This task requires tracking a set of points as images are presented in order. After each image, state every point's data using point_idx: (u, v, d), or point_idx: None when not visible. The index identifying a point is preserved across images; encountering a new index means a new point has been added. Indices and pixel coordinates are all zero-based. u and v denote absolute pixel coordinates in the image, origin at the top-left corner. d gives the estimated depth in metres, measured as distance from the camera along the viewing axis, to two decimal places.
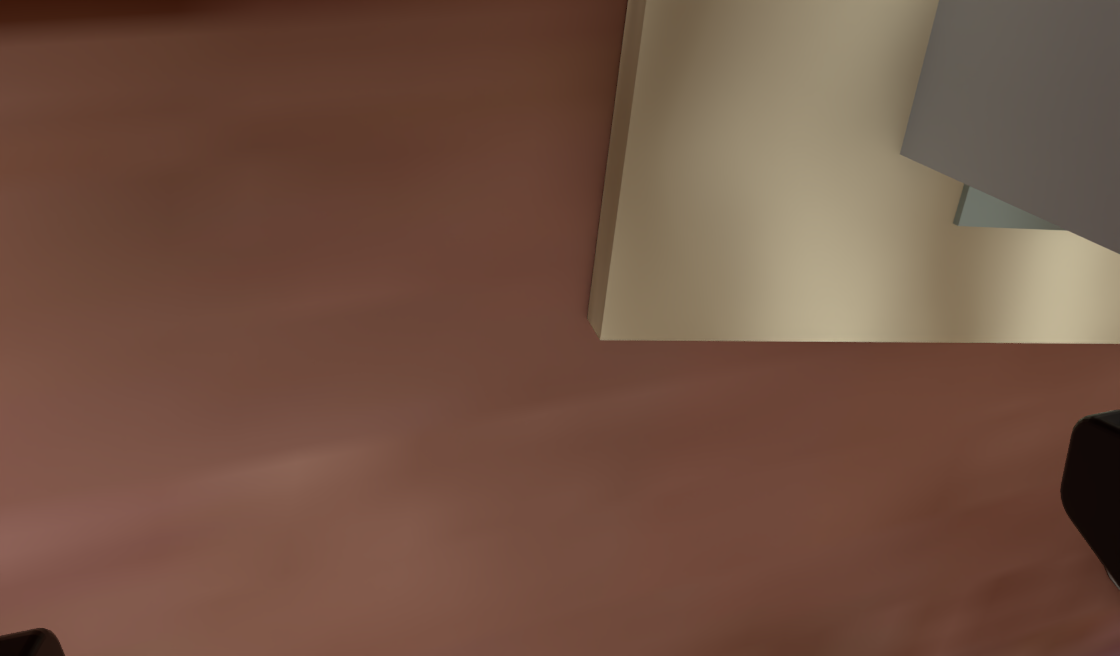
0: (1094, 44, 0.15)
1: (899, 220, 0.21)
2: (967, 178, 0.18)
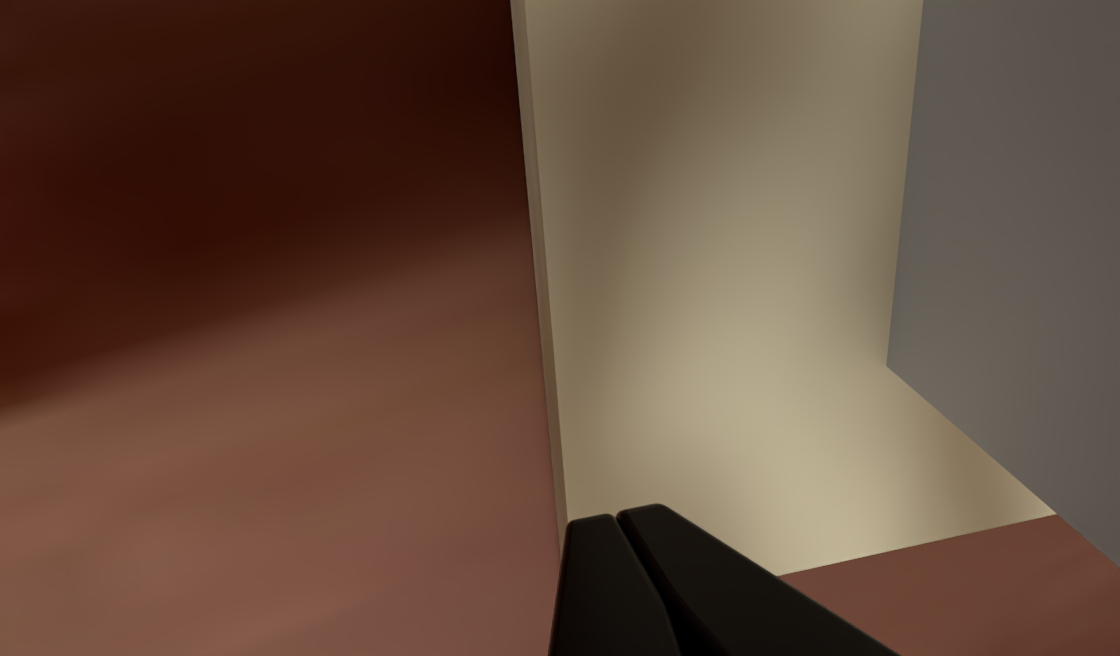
0: (1092, 328, 0.12)
1: (899, 429, 0.18)
2: (965, 427, 0.15)
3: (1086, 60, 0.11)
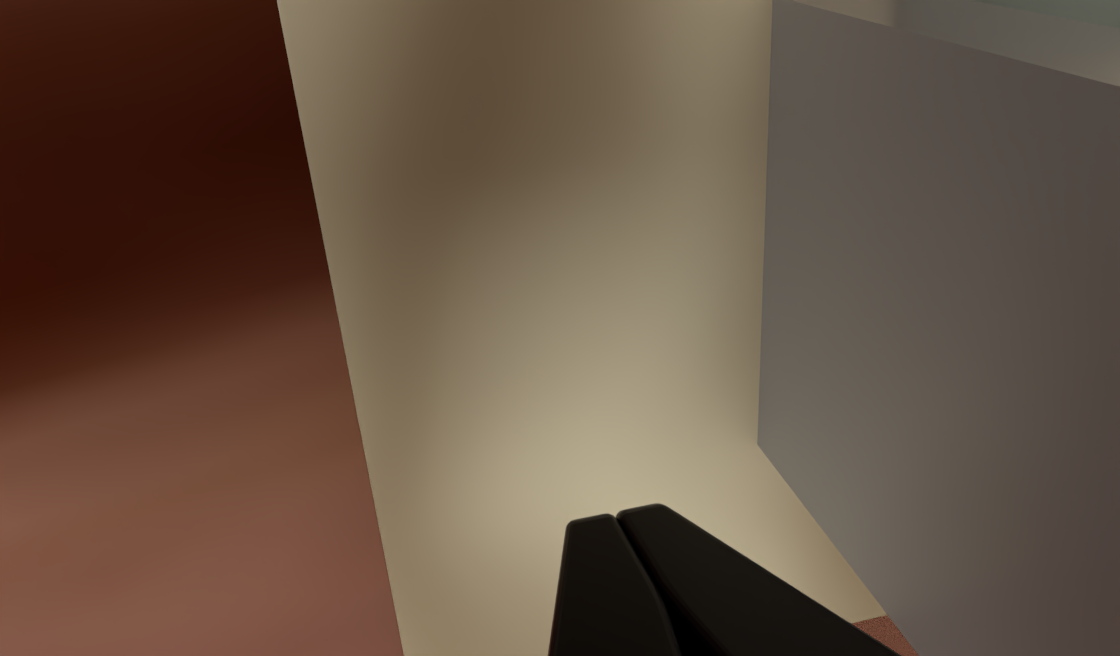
0: (936, 441, 0.10)
1: (777, 512, 0.16)
2: (827, 527, 0.13)
3: (918, 125, 0.09)
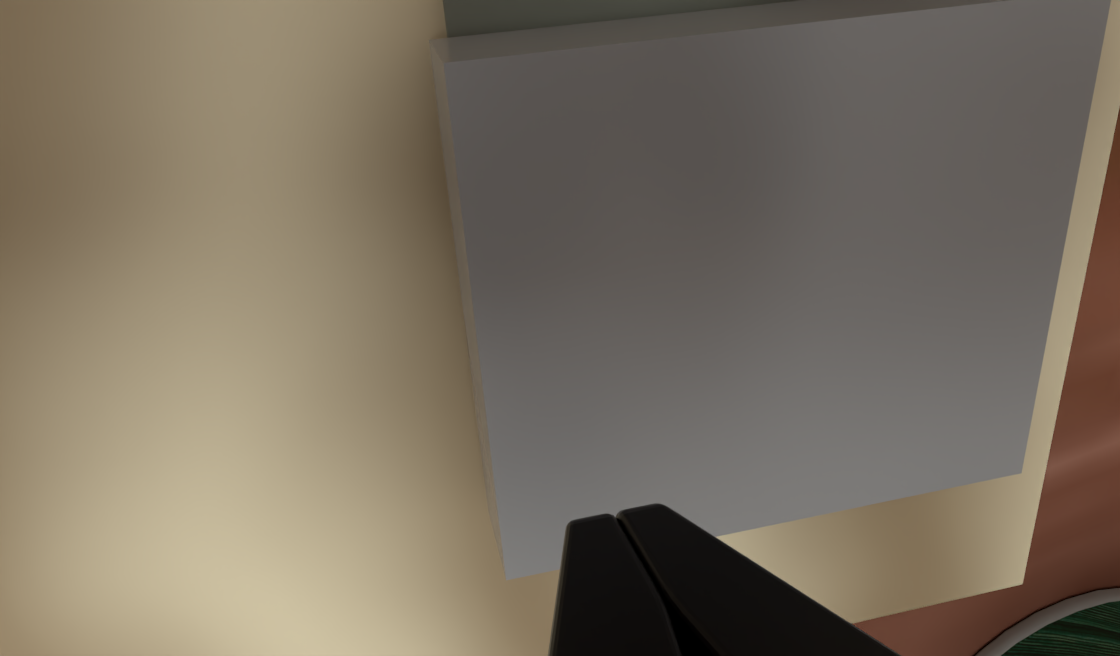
0: (819, 340, 0.12)
1: (425, 585, 0.15)
2: None
3: (759, 105, 0.11)
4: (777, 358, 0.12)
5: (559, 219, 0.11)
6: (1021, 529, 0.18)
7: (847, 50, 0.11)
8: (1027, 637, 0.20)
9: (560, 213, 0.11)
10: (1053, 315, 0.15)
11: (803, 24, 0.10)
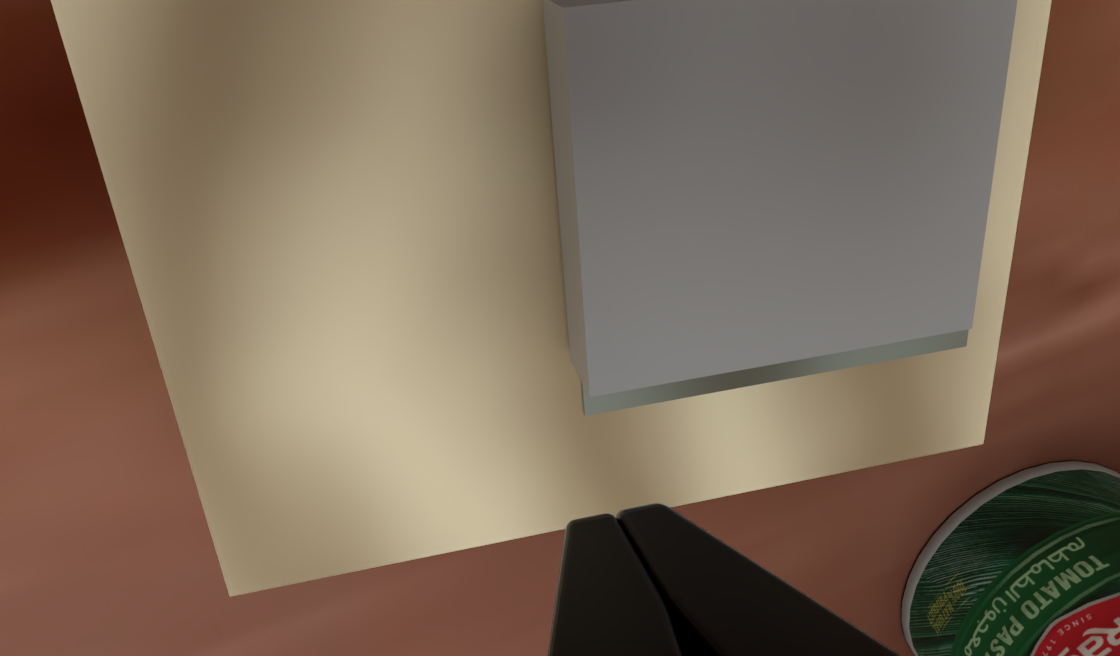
0: (818, 216, 0.17)
1: (519, 422, 0.20)
2: (708, 370, 0.18)
3: (775, 40, 0.15)
4: (788, 229, 0.17)
5: (636, 120, 0.15)
6: (980, 396, 0.22)
7: (836, 1, 0.15)
8: (991, 499, 0.25)
9: (637, 115, 0.15)
10: (999, 217, 0.20)
11: None
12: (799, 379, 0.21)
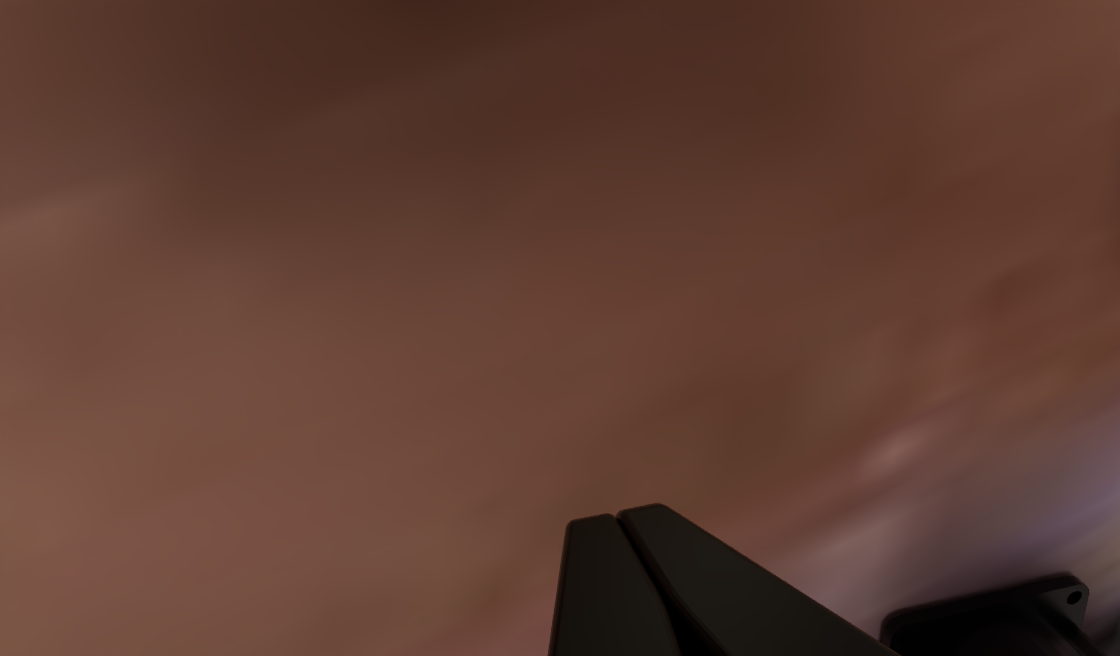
0: None
1: None
2: None
3: None
4: None
5: None
6: None
7: None
8: None
9: None
10: None
11: None
12: None
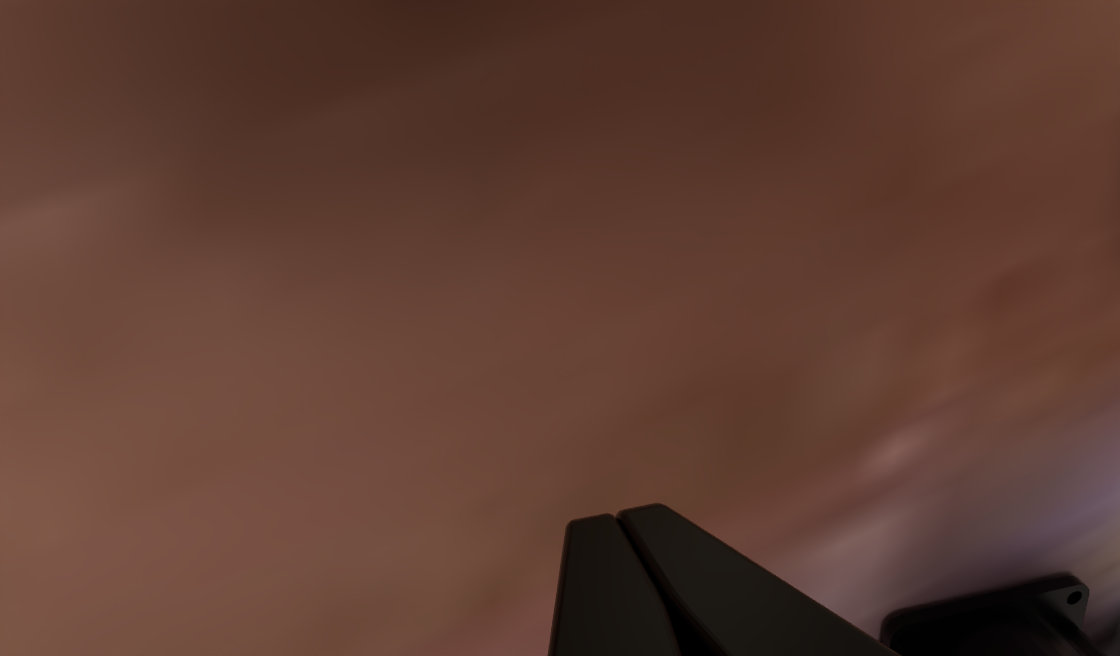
0: None
1: None
2: None
3: None
4: None
5: None
6: None
7: None
8: None
9: None
10: None
11: None
12: None
